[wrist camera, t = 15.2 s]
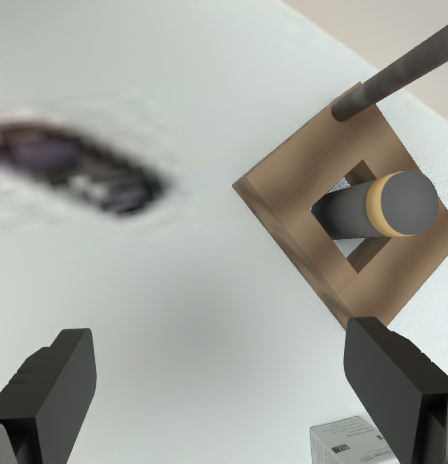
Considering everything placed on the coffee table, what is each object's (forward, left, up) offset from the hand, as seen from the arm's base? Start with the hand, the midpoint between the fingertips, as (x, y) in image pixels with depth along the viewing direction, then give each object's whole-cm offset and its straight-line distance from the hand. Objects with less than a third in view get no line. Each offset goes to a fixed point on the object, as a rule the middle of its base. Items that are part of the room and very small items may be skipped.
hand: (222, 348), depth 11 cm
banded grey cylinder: (+7, +19, -22) cm, 30 cm away
